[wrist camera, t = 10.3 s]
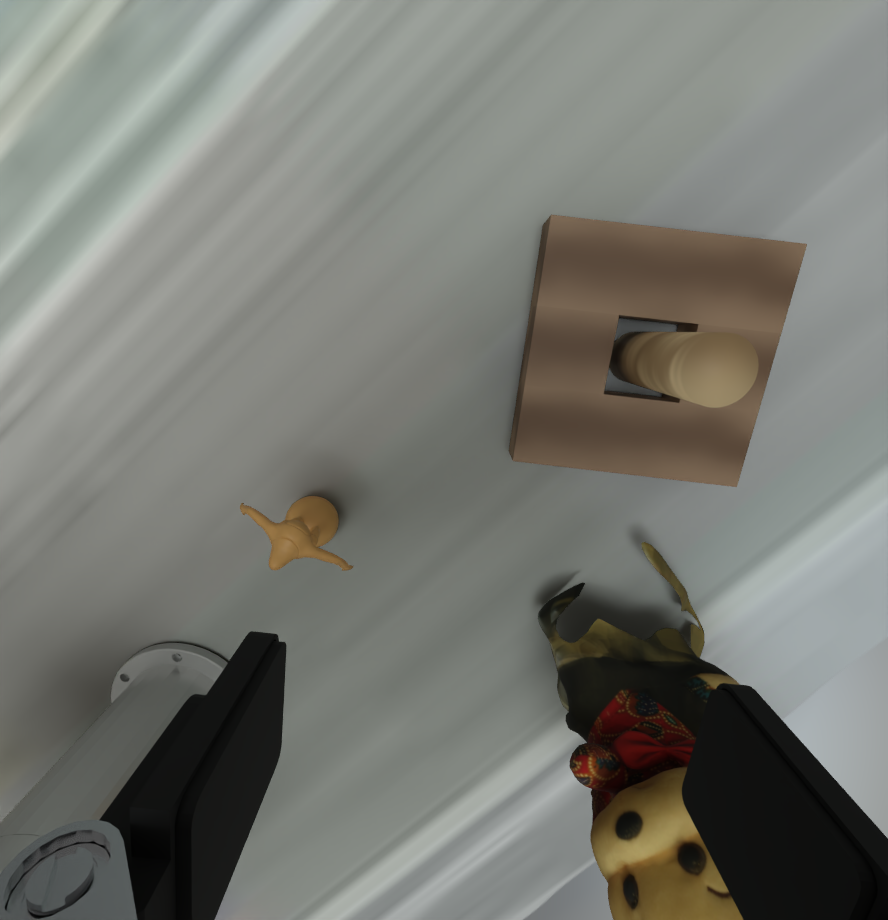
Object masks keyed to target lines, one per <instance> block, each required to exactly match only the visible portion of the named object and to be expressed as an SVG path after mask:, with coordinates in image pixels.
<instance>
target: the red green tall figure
mask: <svg viewBox="0 0 888 920" xmlns="http://www.w3.org/2000/svg"><path fill="white" fill-rule="evenodd" d="M642 549H643V551H644V553H645V555H646V557H647V558H648V560H649V561H650V562H651V564H652V565H653V566H654V568H655V569H656V570H657V571H658V572H659V573H660V574H661V575H662V576H663V577H664V578H665V579H666V580H667V581H668V582H669V583H670V584H671V585H672V586H673V588H674V589H675V590H676V592H677V593H678V595H679V596H680V600H681V603H682V608H681V611H688V612H689V613H691V614H692V615H693V616H694V618H695V619H696V620H697V621H698V623H699V626H700V629H701V630H700V629H699V628H698V627H697V626H696V625H693V624H691V648H690V647H689V645H688V644H687V642H686V641H685V639H684V638H683V636H682V635H681V634H680V632H679V631H678V630H676V629H671V628H664V629H661V630H659V631H656V633H655V634H654V635H653V636H652V637H651V638H649V639H647V640H642V639H639V638H637V637H635V636H633V635H631V634H629V633H627V632H625V631H623V630H621V629H619V628H616V627H614V626H612V625H610V624H608V623H607V622H605V621H603V620H601V619H599V618H598V619H597V620H596V621H595V622H594V623H593V624H592V626H591V627H590V629H589V630H588V632H587V633H586V634H585V635H584V636H582V637H581V638H580V639H579V640H578V641H577V642H574V643H569V642H566V641H564V640H563V639H562V638H561V637H560V636H559V634H558V632H557V630H556V623H557V619H558V617H559V615H560V614H561V613H562V612H563V611H564V610H565V609H566V608H567V607H568V605H569V604H570V603H571V602H572V601H573V600H574V599H576V598H577V597H578V596H579V594H580V592H581V590H582V589H583V587H584V585H585V583H580V584H578V585H576V586H574V587H572V588H570V589H568V590H566V591H564V592H562V593H561V594H559V595H557V596H556V597H554V598H552V599H551V600H549V601H548V602H547V603H546V604H545V605H544V606H543V607H542V609H541V610H540V612H539V614H538V620H539V624H540V626H541V628H542V630H543V631H544V633H545V634H546V636H547V638H548V639H549V641H550V643H551V644H550V646H551V649H552V648H553V649H552V652H553V656H554V659H555V662H556V667H557V671H558V684H557V689H558V694H559V697H560V700H561V703H562V705H563V706H564V707H565V708H566V709H567V710H568V711H569V713H567V715H566V723H567V725H568V728H569V729H570V730H572V731H575V732H576V733H578V734H579V735H580V736H581V737H583V738H584V740H585V741H586V742H587V743H585V744H582V745H579V746H578V747H577V748H576V749H575V751H574V752H573V753H572V756H571V759H570V768H571V770H572V772H573V774H574V776H575V777H576V778H577V780H578V781H579V782H580V783H582V784H583V785H584V786H586V787H589V788H591V789H592V791H591V795H592V797H593V798H592V810H593V825H592V829H591V844H592V849H593V853H594V856H595V859H596V861H597V864H598V866H599V868H600V871H601V873H602V874H603V876H604V877H605V879H606V880H607V882H608V899H609V905H610V910H611V913H612V916H613V919H614V920H743V918H742V916H741V914H740V912H739V910H738V908H737V906H736V904H735V902H734V901H733V899H732V897H731V895H730V893H729V891H728V889H727V887H726V885H725V883H724V881H723V879H722V877H721V875H720V873H719V872H718V870H717V868H716V866H715V864H714V862H713V860H712V858H711V856H710V854H709V852H708V850H707V848H706V846H705V844H704V842H703V841H702V839H701V837H700V835H699V833H698V831H697V829H696V827H695V825H694V823H693V821H692V819H691V817H690V815H689V813H688V812H687V810H686V808H685V805H684V802H683V799H682V784H683V781H684V777H685V774H686V771H687V767H688V764H689V761H690V757H691V754H692V750H693V747H694V744H695V740H696V737H697V734H698V730H699V727H700V723H701V720H702V717H703V713H704V710H705V707H706V703H707V700H708V697H709V694H710V692H711V691H712V690H713V689H716V688H717V686H718V685H719V684H721V683H728V684H737V685H739V683H738V682H737V681H736V680H734V679H733V678H732V677H731V676H729V675H728V674H727V673H725V672H724V671H722V670H721V669H719V668H718V667H716V666H714V665H713V664H710V663H708V662H706V661H704V660H702V659H700V658H699V657H700V655H701V653H702V649H703V646H704V631H703V628H702V626H701V624H700V622H699V620H698V618H697V616H696V614H695V612H694V610H693V609H692V607H691V605H690V602H689V599H688V595H687V592H686V590H685V588H684V587H683V585H682V584H681V583H680V581H679V580H678V579H677V577H676V576H675V575H674V573H673V572H672V571H671V569H670V568H669V566H668V565H667V563H666V562H665V560H664V559H663V558H662V556H661V555H660V554H659V552H658V551H657V550H656V549H655V548H654V547H653V546H652V545H650V544H648V543H646V542H643V543H642Z"/></svg>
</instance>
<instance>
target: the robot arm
mask: <svg viewBox="0 0 888 920" xmlns="http://www.w3.org/2000/svg"><path fill="white" fill-rule="evenodd" d="M285 663H286V643H285V642H279V638H278V635H277V634H271V633H262V632H253V631H252V632H249V633H248V635H247V636H246V637H245V639H244V640H243V642H242V643H241V645H240V646H239V648H238V649H237V651H236V652H235V654H234V655H233V656H232V658H231V659H230V661H229V662H226V661H225V660H223V659H222V658H221V657H219V656H218V655H216V654H214V653H212V652H210V651H208V650H206V649H203V648H200V647H197V646H194V645H188V644H182V643H164V644H158V645H153V646H151V647H148V648H146V649H143V650H141V651H140V652H138V653H137V654H135V655H134V656H132V657H131V658H130V659H129V660H128V661H127V662H126V663H125V664H124V665H123V666H122V667H121V668H120V670H119V671H118V672H117V674H116V676H115V678H114V681H113V683H112V688H111V705H110V706H109V707H108V708H107V709H106V710H105V711H104V712H103V713H102V715H101V716H100V717H99V718H98V719H97V720H96V721H95V722H94V723H93V724H92V725H91V726H90V727H89V728H88V730H87V731H86V732H85V733H84V734H83V735H82V736H81V737H80V738H79V739H78V740H77V741H76V742H75V743H74V745H73V746H72V747H71V748H70V749H69V750H68V751H67V752H66V753H65V754H64V755H63V756H62V757H61V758H60V760H59V761H58V762H57V763H56V764H55V765H54V766H53V767H52V768H51V769H50V770H49V771H48V772H47V773H46V775H45V776H44V777H43V778H42V779H41V780H40V781H39V782H38V783H37V784H36V785H35V786H34V787H33V788H32V790H31V791H30V792H29V793H28V794H27V795H26V796H25V797H24V798H23V799H22V800H21V801H20V802H19V803H18V805H17V806H16V807H15V808H14V809H13V810H12V811H11V812H10V813H9V814H8V815H7V816H6V817H5V818H4V820H3V821H2V822H1V823H0V920H214V919H215V917H216V915H217V912H218V910H219V907H220V905H221V902H222V900H223V897H224V895H225V892H226V890H227V887H228V885H229V882H230V880H231V877H232V875H233V872H234V870H235V867H236V865H237V862H238V860H239V857H240V855H241V852H242V850H243V847H244V845H245V843H246V840H247V838H248V835H249V833H250V830H251V828H252V825H253V823H254V820H255V818H256V815H257V813H258V810H259V808H260V805H261V803H262V800H263V798H264V795H265V793H266V790H267V788H268V785H269V783H270V780H271V778H272V775H273V773H274V771H275V768H276V765H277V763H278V759H279V756H280V751H281V744H282V725H283V704H284V684H285ZM682 799H683V802H684V805H685V808H686V810H687V812H688V813H689V815H690V817H691V819H692V821H693V823H694V825H695V827H696V829H697V831H698V833H699V835H700V837H701V839H702V841H703V842H704V844H705V846H706V848H707V850H708V852H709V854H710V856H711V858H712V860H713V862H714V864H715V866H716V868H717V870H718V872H719V873H720V875H721V877H722V879H723V881H724V883H725V885H726V887H727V889H728V891H729V893H730V895H731V897H732V899H733V901H734V902H735V904H736V906H737V908H738V910H739V912H740V914H741V916H742V918H743V920H888V838H887V837H886V836H885V835H884V834H883V833H882V832H881V831H880V830H879V828H878V827H877V826H876V825H875V824H874V823H873V822H872V820H871V819H870V818H869V817H868V816H867V815H866V814H865V813H864V812H863V811H862V809H861V808H860V807H859V806H858V805H857V804H856V803H855V802H854V800H853V799H852V798H851V797H850V796H849V795H848V794H847V793H846V791H845V790H844V789H843V788H842V787H841V786H840V785H839V784H838V782H837V781H836V780H835V779H834V778H833V777H832V776H831V775H830V774H829V772H828V771H827V770H826V769H825V768H824V767H823V766H822V765H821V763H820V762H819V761H818V760H817V759H816V758H815V757H814V756H813V754H812V753H811V752H810V751H809V750H808V749H807V748H806V747H805V746H804V744H803V743H802V742H801V741H800V740H799V739H798V738H797V737H796V736H795V734H794V733H793V732H792V731H791V730H790V729H789V728H788V727H787V725H786V724H785V723H784V722H783V721H782V720H781V719H780V718H779V716H778V715H777V714H776V713H775V712H774V711H773V710H772V709H771V707H770V706H769V705H768V704H767V703H766V702H765V701H764V700H763V699H762V697H761V696H760V695H759V694H758V693H757V692H756V691H755V690H754V689H753V688H752V687H750V686H746V685H737V684H728V683H721V684H719V685H718V686H717V688H716V689H713V690H712V691H711V692H710V694H709V697H708V700H707V703H706V707H705V710H704V713H703V717H702V720H701V723H700V727H699V730H698V734H697V737H696V740H695V744H694V747H693V750H692V754H691V757H690V761H689V764H688V767H687V771H686V774H685V777H684V781H683V784H682Z"/></svg>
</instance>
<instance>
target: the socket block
mask: <svg viewBox="0 0 888 920" xmlns="http://www.w3.org/2000/svg"><path fill="white" fill-rule="evenodd" d="M806 246H807V244H802V243H793V242H784V241H776V240H767V239H758V238H749V237H741V236H732V235H723V234H714V233H705V232H697V231H688V230H679V229H670V228H662V227H653V226H644V225H635V224H627V223H618V222H609V221H600V220H592V219H583V218H574V217H565V216H557V215H551V216H550V217H549V218H548V219H547V221H546V222H545V223H544V225H543V229H542V235H541V242H540V248H539V255H538V262H537V268H536V275H535V281H534V288H533V295H532V301H531V308H530V314H529V321H528V327H527V334H526V341H525V347H524V354H523V360H522V367H521V374H520V380H519V387H518V393H517V400H516V406H515V413H514V420H513V426H512V433H511V439H510V446H509V452H510V455H511V457H512V460H513V461H517V462H526V463H534V464H543V465H552V466H560V467H569V468H578V469H586V470H595V471H604V472H612V473H621V474H630V475H638V476H647V477H655V478H664V479H673V480H681V481H690V482H699V483H707V484H716V485H725V486H733V487H737V484H738V481H739V477H740V474H741V470H742V467H743V463H744V460H745V456H746V453H747V450H748V446H749V443H750V439H751V436H752V432H753V429H754V425H755V422H756V419H757V415H758V412H759V408H760V405H761V401H762V398H763V394H764V391H765V388H766V384H767V381H768V377H769V374H770V370H771V367H772V363H773V360H774V356H775V353H776V350H777V346H778V343H779V339H780V336H781V332H782V329H783V325H784V322H785V319H786V315H787V312H788V308H789V305H790V301H791V298H792V294H793V291H794V288H795V284H796V281H797V277H798V274H799V270H800V267H801V263H802V260H803V256H804V253H805V250H806ZM619 318H626V319H634V320H643V321H652V322H660V323H669V324H678V328H677V332H728V333H735V334H738V335H740V336H742V337H744V338H746V339H747V340H748V341H749V342H750V343H751V344H752V345H753V347H754V349H755V350H756V353H757V356H758V363H759V366H758V373H757V377H756V380H755V382H754V384H753V386H752V387H751V389H750V390H749V391H748V392H747V393H746V394H745V395H744V396H743V397H742V398H741V399H740V400H738V401H736V402H735V403H733V404H731V405H728V406H725V407H719V408H710V407H705V406H702V405H699V404H696V403H692V402H689V401H686V400H683V399H680V398H676V397H673V396H670V395H667V394H663V393H662V397H657V396H648V395H640V394H631V393H622V392H614V391H605V390H604V389H605V384H606V379H607V374H608V369H609V364H610V359H611V354H612V349H613V344H614V339H615V334H616V329H617V324H618V319H619Z"/></svg>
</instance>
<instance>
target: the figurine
mask: <svg viewBox="0 0 888 920" xmlns="http://www.w3.org/2000/svg"><path fill="white" fill-rule="evenodd" d="M243 504H244V503H241V505H240V510H241V512H242V513H243V515H245V514H248V515H249V516H250V517H251V518H252V519H253V520H254V521H255V522H256V523H257V524H258V525H259V526H261V527H262V528H263V529H264V531H265V532H266V533H267V535H268V536H269V539H270V542H271V544H272V550H271V554H270V558H269V567H270V568H271V569H272V570H278V569H280V568H282V567H283V566H285V565H286V564H287V563H289V562H290V561H292V560H293V559H300V558H303V557H310V558H317V559H320V560H322V561H326V562H330V563H334V564H336V565H339V566H340V567H341V568H342V571H343V570H350V569H352V568H353V566H351V565H348V563H347V562H346V561H345V560H343V559H342V558H340V557H338V556H337V555H335V554H332V553H330V552H328V551H325V550H323V549H320V548H318V547H320V546H322V545H324V544H326V543H328V542H329V541H330V540H331V539H332V538H333V537H334V535H335V533H336V531H337V529H338V524H339V518H338V514H337V511H336V509H335V507H334V506H333V505H332V504H331V503H330V502H329V501H328V500H326V499H324V498H322V497H318V496H307V497H304V498H301V499H299V500H298V501H296V502H295V503H294V504H293V505H292V506H291V507H290V508H289V510H288V512H287V515H286V518H285V520H284V521H282V522H281V523H274V522H272V521H270V520H269V519H268V518H267V517H265V516H264V515H263V514H262V513H260V512H259V511H257V510H256V509H254V508H252V507H249V506H244V505H243Z"/></svg>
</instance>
